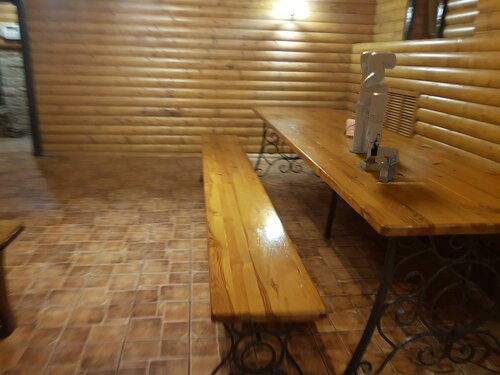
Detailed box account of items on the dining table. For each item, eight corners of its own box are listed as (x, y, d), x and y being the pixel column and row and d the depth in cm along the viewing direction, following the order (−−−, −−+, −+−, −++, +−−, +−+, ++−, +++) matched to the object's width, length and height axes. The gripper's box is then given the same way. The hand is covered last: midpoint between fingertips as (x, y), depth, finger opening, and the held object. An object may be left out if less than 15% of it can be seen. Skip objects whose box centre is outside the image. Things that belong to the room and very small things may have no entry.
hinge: (370, 163, 212) (371, 145, 212) (368, 164, 217) (368, 146, 217) (400, 164, 212) (401, 146, 212) (397, 165, 217) (398, 147, 217)
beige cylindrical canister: (365, 159, 198) (367, 138, 194) (373, 159, 198) (376, 138, 194) (368, 161, 194) (370, 140, 190) (376, 161, 194) (379, 140, 190)
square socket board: (359, 166, 201) (361, 154, 199) (389, 166, 202) (391, 154, 199) (364, 170, 193) (366, 157, 191) (395, 171, 194) (397, 158, 192)
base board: (353, 166, 205) (353, 164, 204) (386, 167, 206) (386, 164, 205) (361, 174, 192) (362, 171, 191) (396, 174, 193) (397, 172, 192)
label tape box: (385, 178, 186) (388, 153, 182) (393, 180, 184) (397, 155, 180) (378, 182, 180) (381, 156, 176) (386, 184, 177) (390, 158, 173)
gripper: (363, 116, 197) (359, 150, 203) (375, 121, 181) (370, 158, 187) (377, 116, 197) (373, 151, 203) (390, 121, 181) (385, 158, 187)
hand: (371, 154), depth 195 cm, fingers closed on beige cylindrical canister, 4 cm apart
